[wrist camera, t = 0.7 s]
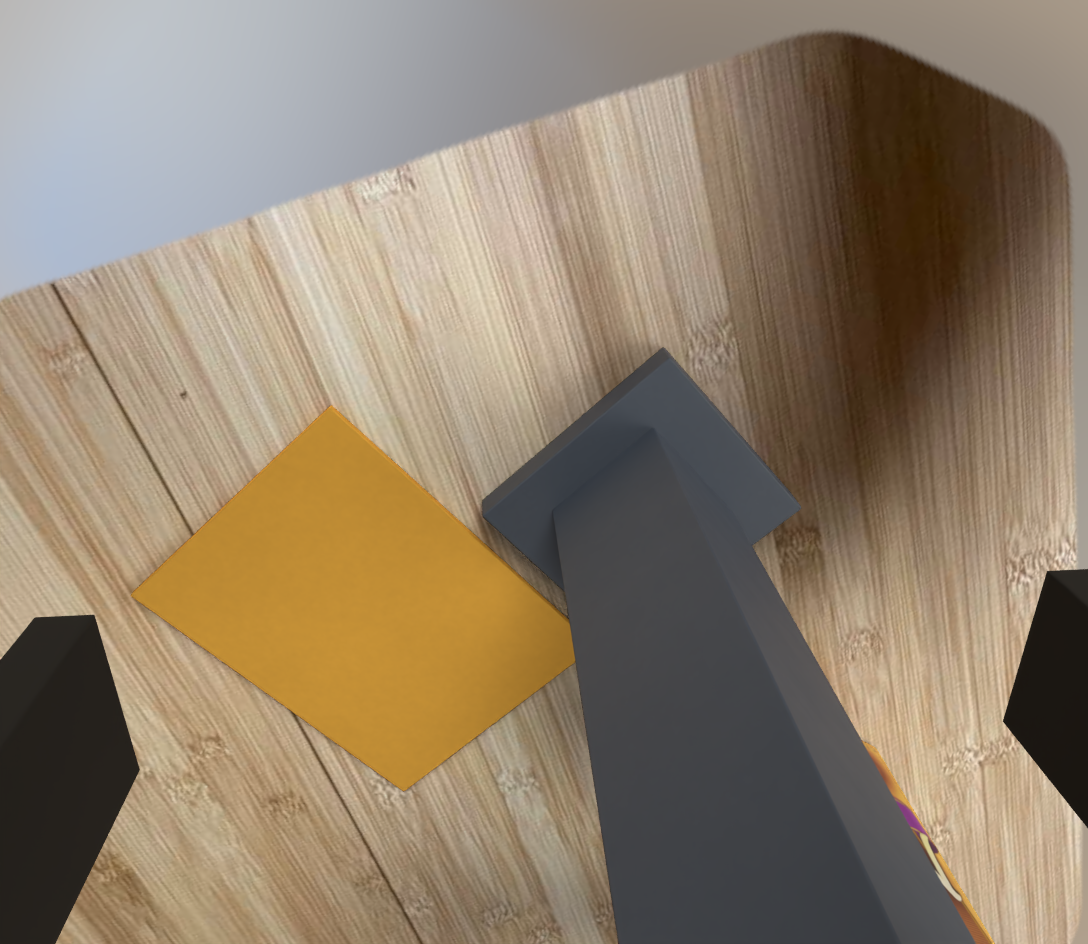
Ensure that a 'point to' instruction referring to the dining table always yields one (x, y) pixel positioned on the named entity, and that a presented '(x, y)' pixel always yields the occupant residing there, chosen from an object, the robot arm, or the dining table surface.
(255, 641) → the cloth
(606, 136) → the dining table surface
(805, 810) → the grey slanted pedestal
